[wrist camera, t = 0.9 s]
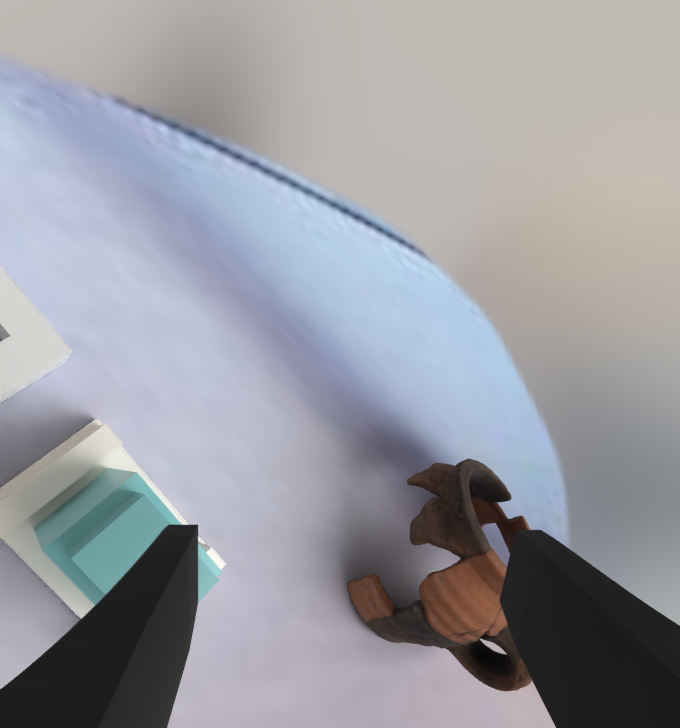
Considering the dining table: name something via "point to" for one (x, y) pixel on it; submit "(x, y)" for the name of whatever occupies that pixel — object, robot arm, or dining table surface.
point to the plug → (110, 533)
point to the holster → (53, 488)
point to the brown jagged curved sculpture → (455, 577)
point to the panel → (24, 341)
